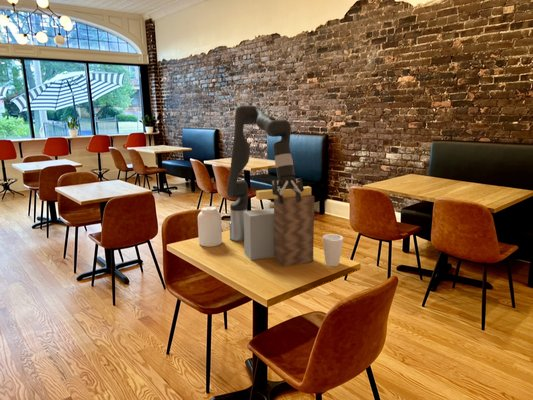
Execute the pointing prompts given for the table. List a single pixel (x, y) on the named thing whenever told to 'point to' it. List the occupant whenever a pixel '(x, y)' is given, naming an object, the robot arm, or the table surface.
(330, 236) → the foam cup
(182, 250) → the table surface
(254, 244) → the block
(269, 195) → the rail
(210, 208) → the white jar
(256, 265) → the table surface
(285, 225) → the stand
